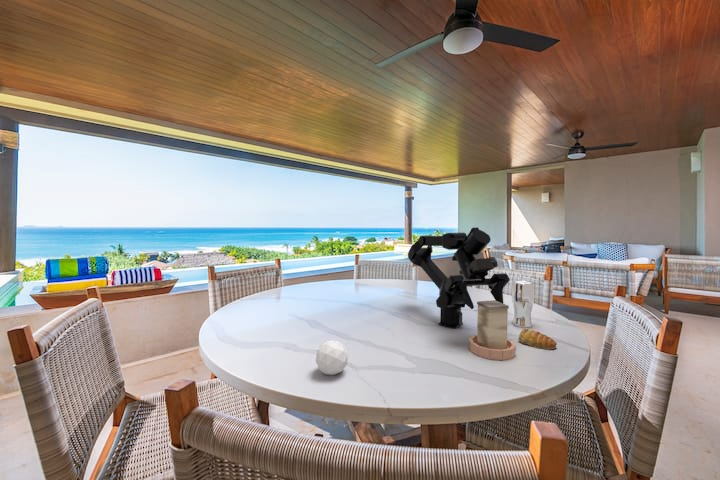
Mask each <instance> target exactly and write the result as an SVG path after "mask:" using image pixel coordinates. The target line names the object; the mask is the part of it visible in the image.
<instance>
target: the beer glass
mask: <svg viewBox="0 0 720 480" xmlns="http://www.w3.org/2000/svg"><path fill="white" fill-rule="evenodd" d="M534 301H535V283H534V282H533V281H528V280H513V281H512V285H511V303H512V308H513V318H512V325H514V326H515V327H519V328H524V329H527V328H532V326H533V322H532V311H533V307H534Z"/></svg>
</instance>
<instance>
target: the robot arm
mask: <svg viewBox="0 0 720 480" xmlns="http://www.w3.org/2000/svg"><path fill="white" fill-rule="evenodd" d="M490 242H491V236H490V234H488V233H486V231H483V230H480V229H479V227H472V228H471V229H470V231H469V232H468V234H467V233H466V232H446V233H443V234H442V235H421V236H419V237H418V239H417V241H415V242H414V243H413V244H412V245H411V246H410V249H409V250H408V252H407V257H408V260H409V261H410V262H411V263H412V264H413V265H415V266H418V267H420V268H421V269H422V270H423V271H424V272H425V274H426V275H427V276H428V278H430V279H431V281H432V282H433V283H434V284H435V286H436V287H437V289H438V291H439V294H438V295H439V296H438V298H436V300H435V303H436V307H437V308H440V309H439V310H440V313H439V315H440V316H439V317H440V321H439V322H438V323H437V324H438V325H439V326H444V327H448V328H451V329H457V328H458V327H460V326H462V325H463V324H464V323H463V312H462V308H465V307H466V306H467V307H468V308H469V309H471V310H473V309H474V308H475V306H474V302H473V300H472V298H471V295H470V293H469V291H468V287H469V286H471V287H474V286H475V287H478V286H487V287H488V289H490V291H489V292H490V294H491V295H492V297H493V299H494V300H496V301H498V302H501V303H503V304H504V292H503V291H504V288H505V286H507V284H508V283H509V282H510V281H511V279H510V277H509V275H508V273H505V272H502V273H499V272H498V273H493V274H492V276H491V277H490V278H486V277H487V276H488V275H489V272H490V271H493V270H494V269H495V268H498V261H497V259H496V258H495V256H489V257H486V258H477V257H476V256H477V255H481V253H482V252H483V251H484V249H486V247H487V246H488V245H489V244H490ZM425 246H426V247H425ZM433 246H434V247H442V248H444V249H445V250H448V251H453V250H456V251H455V252H454V253H453V256H452V258H451V260H452V262H453V261H455V262H457V264H458V267H459V269H460V270H459V274H454V275H453V274H451V275H449V277H447V275H445V273H444V272H443V271H442V270H441V269H440V268H439V267H438V265H436V263H435V261H433V260H432V253H433Z"/></svg>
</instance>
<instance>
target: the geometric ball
mask: <svg viewBox="0 0 720 480" xmlns="http://www.w3.org/2000/svg"><path fill="white" fill-rule="evenodd" d="M348 358H349V354H348V351H347V348H346V346H345V345H344V344H342V343H341V342H340V341H337V340H333V339H332V340H331V339H330V340H328V341H326V342H324V343H322V344H320V346H319V348H318V349H317V350H316V354H315V362H316V364H317V368H318V369H319V370H320V371H321V373H323V374H324V375H328V376H335V375H338V374H339V373H341V372H343V370H344V369H345V368H346V367H347V365H348Z"/></svg>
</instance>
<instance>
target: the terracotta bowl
mask: <svg viewBox="0 0 720 480" xmlns="http://www.w3.org/2000/svg"><path fill="white" fill-rule="evenodd" d="M468 348H469V350H470V352H471V353H473V354H474V355H475V356H477V357H481V358H483V359H488V360H496V361H507V360H512V359H513V358H514V357H515V356H516V354H517V353H516V348H517V346H516V344H515V342H514V341H512V340H511V339H508V338H507V349H502V350H499V349H489V348H485V347H482V346H479V345H478V344H477V334H475V335H474V334H473V335H472V336H470V337H469V338H468Z"/></svg>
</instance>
